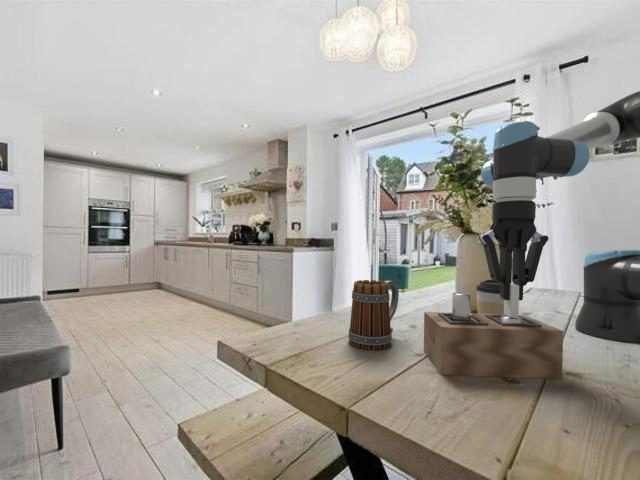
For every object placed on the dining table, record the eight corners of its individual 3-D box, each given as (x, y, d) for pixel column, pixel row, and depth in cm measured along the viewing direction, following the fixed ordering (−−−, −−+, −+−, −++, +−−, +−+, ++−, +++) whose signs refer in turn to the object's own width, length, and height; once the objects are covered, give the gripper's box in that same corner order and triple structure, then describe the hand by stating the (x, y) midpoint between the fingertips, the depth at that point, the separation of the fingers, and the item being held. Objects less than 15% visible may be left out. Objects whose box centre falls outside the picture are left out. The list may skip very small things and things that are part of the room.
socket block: (523, 355, 69) (524, 313, 69) (562, 379, 57) (563, 328, 57) (423, 351, 70) (424, 310, 70) (440, 374, 58) (441, 325, 58)
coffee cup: (521, 346, 75) (522, 284, 75) (481, 343, 76) (482, 283, 76) (506, 334, 84) (507, 279, 83) (471, 332, 85) (471, 278, 85)
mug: (372, 354, 68) (373, 287, 68) (339, 341, 76) (340, 281, 76) (412, 340, 78) (413, 281, 78) (380, 330, 86) (380, 276, 86)
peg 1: (466, 332, 66) (467, 292, 66) (473, 337, 62) (474, 295, 62) (449, 331, 66) (450, 292, 66) (455, 337, 62) (456, 295, 62)
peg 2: (514, 355, 65) (515, 315, 65) (525, 362, 61) (525, 319, 61) (497, 354, 65) (497, 314, 65) (506, 361, 62) (507, 319, 62)
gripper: (535, 203, 66) (532, 312, 67) (472, 203, 67) (470, 310, 67) (559, 199, 59) (557, 322, 59) (489, 198, 60) (486, 319, 60)
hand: (511, 315), depth 63 cm, fingers closed
